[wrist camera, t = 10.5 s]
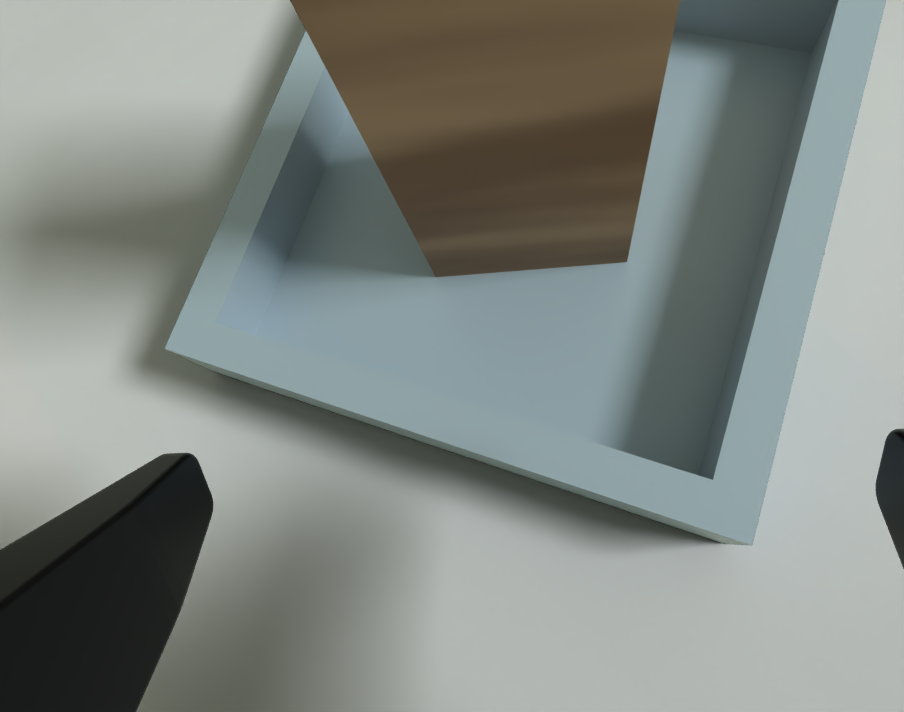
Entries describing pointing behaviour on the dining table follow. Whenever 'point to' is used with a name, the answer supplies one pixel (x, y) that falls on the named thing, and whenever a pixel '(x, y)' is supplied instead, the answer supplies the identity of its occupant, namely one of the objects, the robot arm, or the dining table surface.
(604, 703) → the dining table surface
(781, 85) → the tray
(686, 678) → the dining table surface
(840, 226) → the dining table surface
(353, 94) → the walnut block
